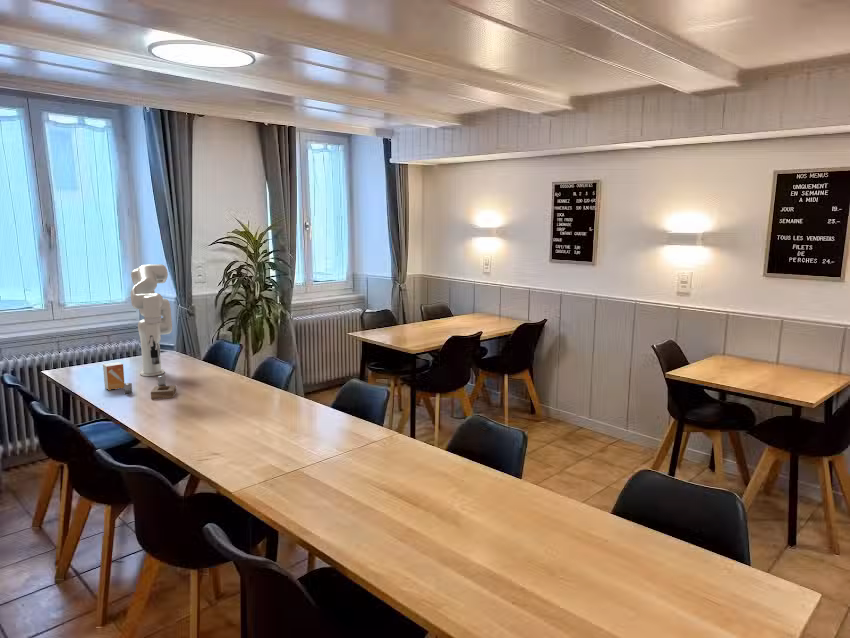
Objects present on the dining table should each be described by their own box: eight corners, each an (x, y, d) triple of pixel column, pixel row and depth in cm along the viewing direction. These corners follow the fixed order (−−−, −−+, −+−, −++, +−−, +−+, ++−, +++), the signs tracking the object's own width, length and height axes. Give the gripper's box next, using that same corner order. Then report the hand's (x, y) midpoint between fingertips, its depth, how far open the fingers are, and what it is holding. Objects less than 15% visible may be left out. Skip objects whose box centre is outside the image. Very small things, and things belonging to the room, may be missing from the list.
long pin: (152, 363, 291) (151, 339, 289) (160, 362, 292) (158, 339, 290) (151, 364, 287) (149, 341, 285) (158, 364, 288) (157, 340, 286)
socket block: (155, 392, 295) (154, 386, 294) (176, 391, 297) (175, 385, 297) (151, 399, 285) (150, 392, 285) (172, 397, 288) (172, 390, 287)
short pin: (125, 392, 295) (124, 383, 294) (133, 392, 296) (132, 382, 295) (123, 394, 292) (122, 385, 291) (131, 394, 292) (130, 384, 292)
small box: (108, 391, 297) (106, 366, 295) (104, 388, 302) (102, 364, 299) (125, 388, 303) (123, 363, 300) (121, 385, 307) (119, 361, 305)
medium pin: (159, 390, 299) (158, 375, 297) (166, 390, 300) (165, 375, 298) (158, 392, 295) (156, 377, 294) (165, 392, 296) (164, 377, 295)
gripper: (148, 317, 293) (151, 353, 296) (140, 323, 277) (143, 360, 280) (164, 317, 295) (167, 352, 298) (157, 323, 279) (159, 360, 282)
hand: (155, 356), depth 289 cm, fingers closed on long pin, 3 cm apart
